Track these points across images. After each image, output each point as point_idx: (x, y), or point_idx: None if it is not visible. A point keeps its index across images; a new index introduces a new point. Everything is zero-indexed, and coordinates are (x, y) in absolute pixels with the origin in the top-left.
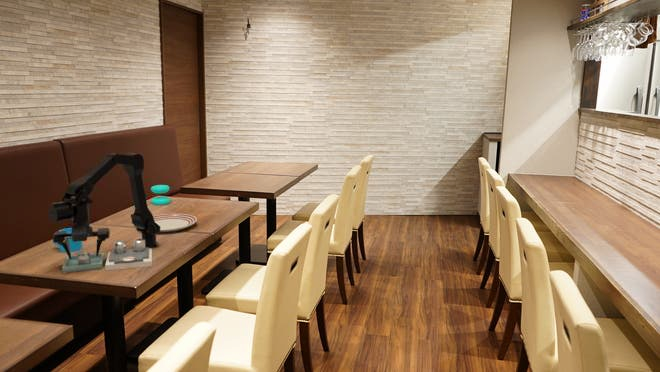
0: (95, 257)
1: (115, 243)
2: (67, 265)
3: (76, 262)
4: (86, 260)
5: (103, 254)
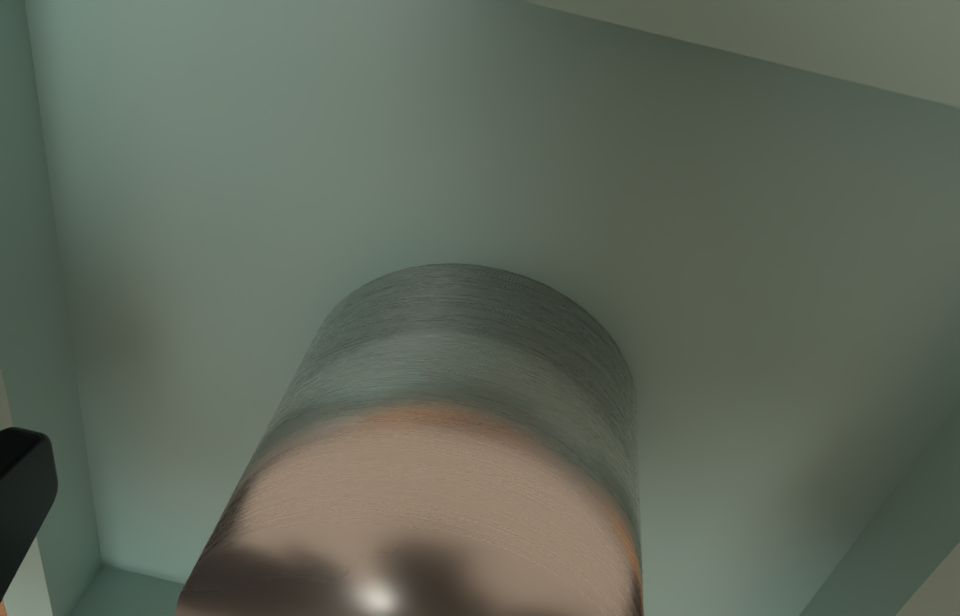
0: None
1: None
2: (902, 474)
3: None
4: (389, 350)
5: (9, 588)
